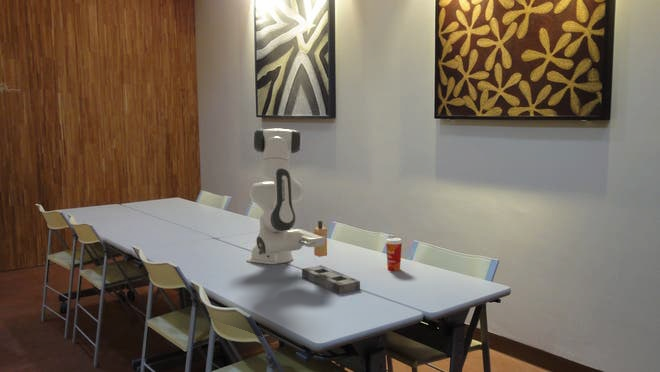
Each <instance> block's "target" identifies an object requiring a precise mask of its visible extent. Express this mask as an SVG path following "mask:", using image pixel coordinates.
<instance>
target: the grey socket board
mask: <svg viewBox="0 0 660 372" xmlns="http://www.w3.org/2000/svg"><path fill="white" fill-rule="evenodd" d="M301 273H302V274H301V275H302V276H301V277H303V278H304V279H307V280H308V281H311V282H313V283H316V284H318V285H319V286H322V287H324V288H326V289H328V290H330V291H333V292H335V293H337V294H339V295H341V294H345V293H350V292H355V291H359V290H361V280H358V279H356V278H353V277H350V276H349V275H346V274H344V273H341V272H339V271H336V270H333V269H332V268H328V267H326V266H323V265H322V264H321V265H316V266H310V267H305V268H301Z"/></svg>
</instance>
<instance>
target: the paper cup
mask: <svg viewBox="0 0 660 372" xmlns="http://www.w3.org/2000/svg"><path fill="white" fill-rule="evenodd" d="M402 244H403V241H402V239H401V238H398V237H389V238H386V239H385V246H386V247H385V248H386V259H387V260H386V262H387V264H386V265H387V271H391V272H398V271H400V270H401V258H402Z"/></svg>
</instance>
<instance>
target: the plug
mask: <svg viewBox="0 0 660 372" xmlns="http://www.w3.org/2000/svg"><path fill="white" fill-rule="evenodd" d="M313 233H314V234H316V235H319V236H321V235H326V239H324V245H323V246H318V247H313V249H314V250H313V252H314V256H317V257H318V258H320V257H326V256H328V234H327V233H328V231H327V227H324V226H323V220H318V221H317V227H313Z"/></svg>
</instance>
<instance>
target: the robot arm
mask: <svg viewBox="0 0 660 372" xmlns="http://www.w3.org/2000/svg"><path fill="white" fill-rule="evenodd" d="M251 140H252V141H251V142H252V146H253V148H254V150H255V151H256V152H259V153H260V154H261V153H263V156H262V157H263V158H262V173H263V174H262V175H263V176H264V178H265V179H266V180H267V181H260V182H255V183H253V184H252V186H251V188H250V190H249V197H250V199H251V201H252V202H253V203H254V204H255V205H257V206H258V207H259V208H260V209H261V210H262V212H263V214H262V215H261V216H260V219H259V224H260V225H259V231H258V235H257V236H256V244H255V245H254V246H253V247H252V249H251V255H249V256H248V257H247V258H246V261H247V262H249V263H257V264H266V265H277V264H283V263H284V264H285V263H288V262H292V261H293V260H294V258H293V257H294V256H293V254H292V252H294V251H299V250H301V249H302V247H303V246H304V247H307V248H314V247H318V246H323V245H324V239H326V235H321V236H319V235H316V234H314V232H312V231H311V232H310V231H307V230H304V229H300V228H293V229H292V227H293V226H294V225H295V222H296V214H295V210H294V207H293V203H298V202H300V200H301V199H302V198H303V195H304V188H303V185H302V184H301V183H300V182H299V181H297V180H296V179H295V178H294V177H293V176H292V173H291V171H290V154H295V153H298V152H300V150H301V147H302V145H303V138H302V135H301V132H300V131H299V130H296V129H286V128H267V129H266V128H265V129H264V128H259V129H256V130H255V131H254V133H253V136H252V139H251Z"/></svg>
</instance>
